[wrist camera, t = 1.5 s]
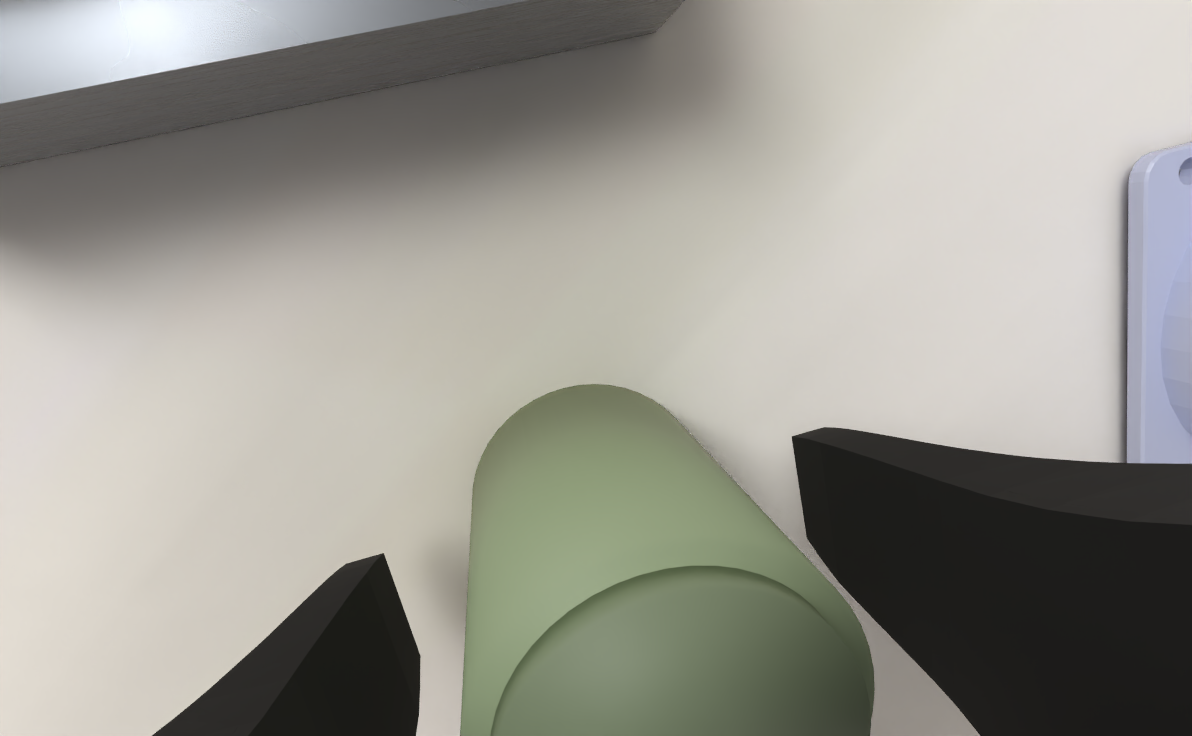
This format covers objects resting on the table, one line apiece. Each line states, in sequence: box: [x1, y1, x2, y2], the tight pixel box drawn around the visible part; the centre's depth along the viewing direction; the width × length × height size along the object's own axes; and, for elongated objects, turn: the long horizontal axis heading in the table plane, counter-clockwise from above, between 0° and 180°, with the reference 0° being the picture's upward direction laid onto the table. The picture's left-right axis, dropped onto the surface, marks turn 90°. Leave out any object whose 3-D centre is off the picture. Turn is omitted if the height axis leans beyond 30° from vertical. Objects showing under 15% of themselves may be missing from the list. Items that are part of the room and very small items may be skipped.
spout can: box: [460, 384, 874, 736], centre depth 9 cm, size 5×5×8 cm
